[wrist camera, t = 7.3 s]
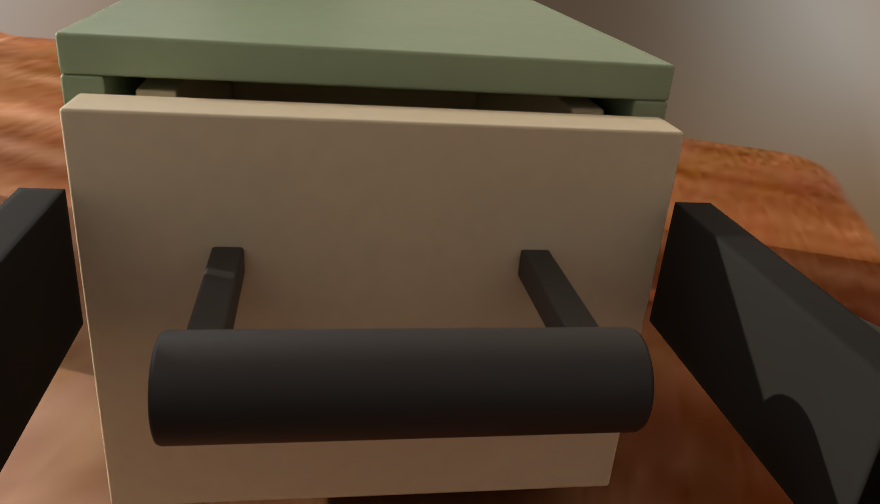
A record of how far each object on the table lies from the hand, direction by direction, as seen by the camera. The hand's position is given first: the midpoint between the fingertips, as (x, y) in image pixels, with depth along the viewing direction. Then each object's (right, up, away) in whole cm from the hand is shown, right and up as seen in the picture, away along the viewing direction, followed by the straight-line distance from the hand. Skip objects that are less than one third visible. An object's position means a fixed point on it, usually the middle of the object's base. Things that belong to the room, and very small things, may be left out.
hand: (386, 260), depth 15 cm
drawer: (-1, -4, +6) cm, 8 cm away
